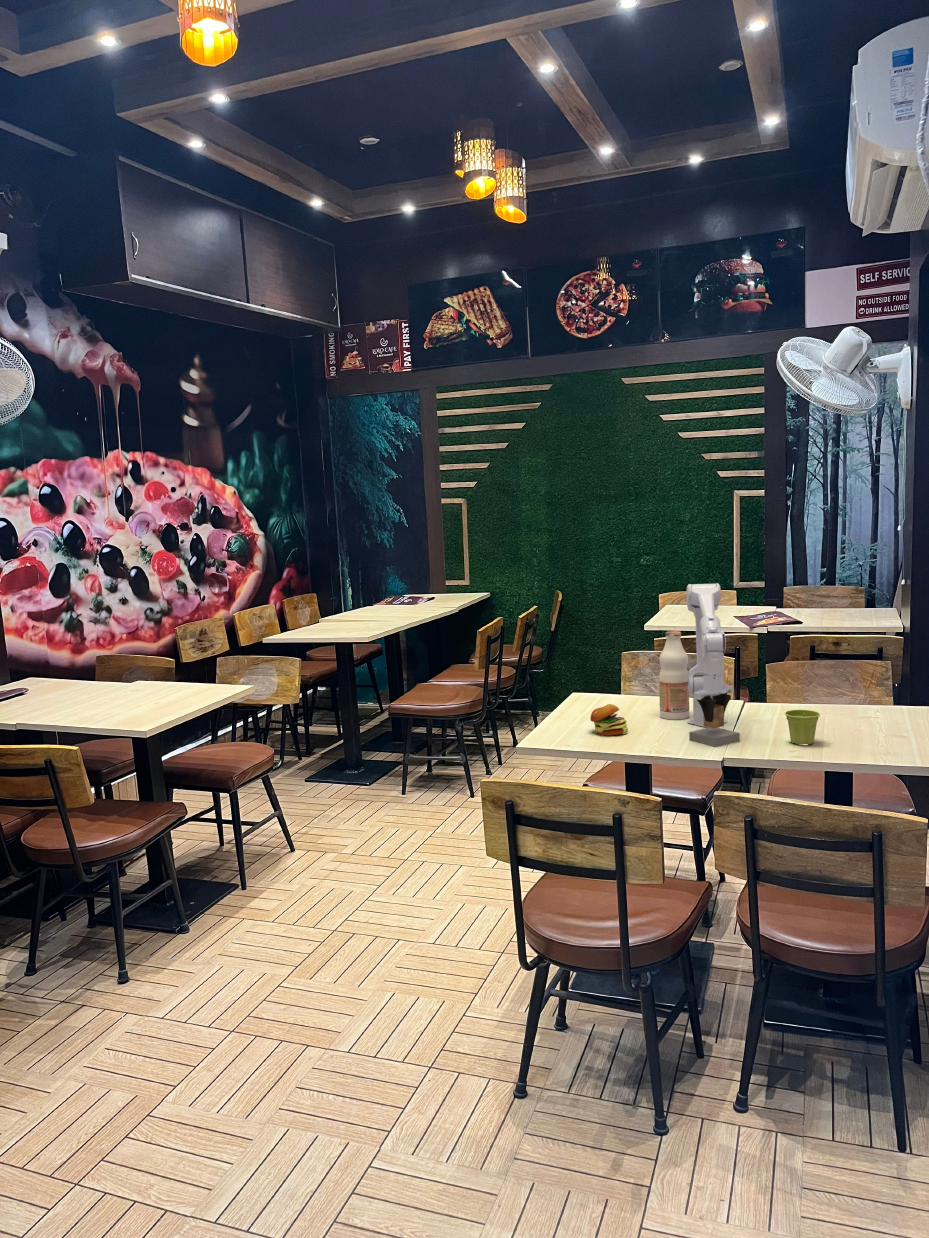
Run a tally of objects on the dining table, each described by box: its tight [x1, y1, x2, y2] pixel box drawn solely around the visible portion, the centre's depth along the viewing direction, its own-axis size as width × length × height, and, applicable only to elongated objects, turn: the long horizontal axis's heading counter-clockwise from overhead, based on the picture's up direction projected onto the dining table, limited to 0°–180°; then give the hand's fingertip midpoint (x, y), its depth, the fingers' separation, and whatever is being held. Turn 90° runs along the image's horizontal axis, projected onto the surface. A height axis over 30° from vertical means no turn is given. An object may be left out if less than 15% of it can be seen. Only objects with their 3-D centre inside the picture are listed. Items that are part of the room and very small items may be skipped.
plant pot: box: [784, 709, 821, 745], centre depth 254 cm, size 9×9×9 cm
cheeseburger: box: [589, 703, 629, 737], centre depth 275 cm, size 10×11×10 cm
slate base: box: [688, 727, 741, 748], centre depth 261 cm, size 10×10×3 cm
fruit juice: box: [658, 630, 690, 721], centre depth 291 cm, size 9×9×28 cm
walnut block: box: [703, 704, 725, 728], centre depth 260 cm, size 4×4×6 cm
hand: (714, 720), depth 260 cm, fingers closed on walnut block, 4 cm apart
